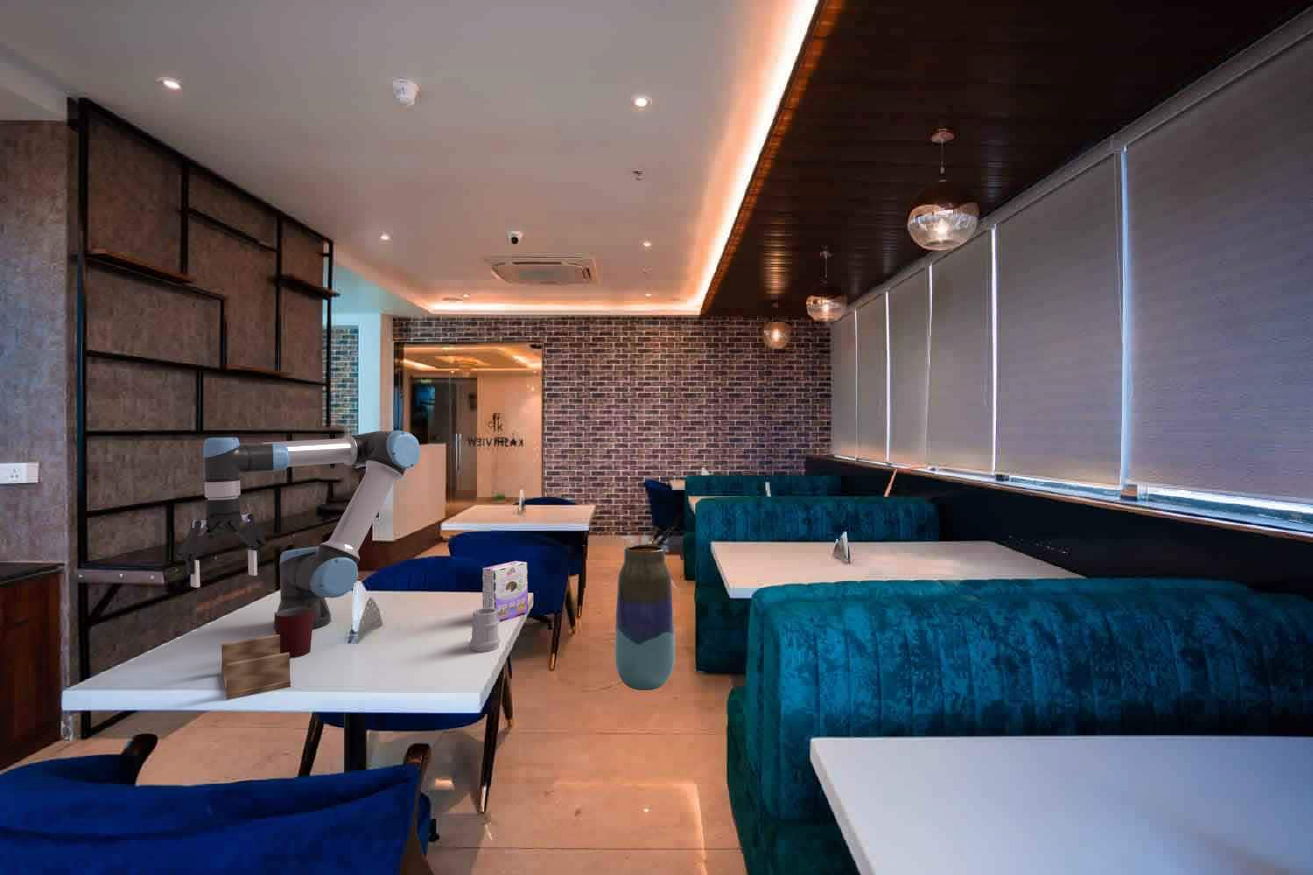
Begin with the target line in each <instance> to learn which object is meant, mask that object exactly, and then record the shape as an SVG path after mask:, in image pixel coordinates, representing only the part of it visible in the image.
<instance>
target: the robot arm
mask: <svg viewBox="0 0 1313 875" xmlns="http://www.w3.org/2000/svg"><path fill="white" fill-rule="evenodd" d="M421 453H422V452H421V446H420V443H419V441H418V439H417V437H416V436H414V435H413V434H412V433H410V432H408V431H402V430H394V431H393V430H392V431H391V430H389V431H388V430H387V431H385V430H384V431H383V430H377V431H369V432H365V433H359V434H349V435H348V434H347V435H344V436H343V437H342V438H333V439H332V438H330V439H329V438H328V439H311V440H309V439H308V440H305V439H304V440H286V441H270V442H268V441H267V442H249V443H248V442H247V443H246V442H245V443H244V442H243V443H240V441H239V438H238V437H233V436H232V437H208V438H206V439H205V440H204V442H203V454H202V458H203V472H204V497H205V498H207V499H205V501H204V512H205V518H204V519H203V520H199V519H192V520H191V522H190V528H189V531H188V533H187V534H186V537H185V539H184V541H183V543H182V545H181V547H180V549H179V551H178V552H177V553H178V554H176V555H177V556H176V559H177V560H181V561H185V564H186V566H185V567H186V569H185V570H186V574H187V575H190V587H191V588H201V580H200V578H201V576H200V573H201V572H200V571H201V570H200V560H198V559H197V558H198V557H199V556H200V555H201V553H202V552H203V551H204V549H205V548H206V547H207V546H208V545H209V543H210V542H211V540H212V539H214V538H215V537H216V536H222V535H223V536H224V535H226V534H227V535H231V534H233V533H234V534H235V535H236V536H237V537H238V538H239V539H240V540H241V541H243V542H244V543H245V544H246V545H247V546H248V547H249V548H250V549H248V550H247V566H248V569H247V570H248V571H247V572H248V575H250V576H258V563H259V562H260V559H261V557H260V556H261V555H260V554H261V553H260V552H261V550H262V549H263V548H264V547H267V545H268V542H267V540H266V538H265V537H264V535H263V533H262V532H261V530H260V528H259V527H258V525H257V523H256V521H255V516H254V514H253V513H244V514H241V509H242V508H241V507H242V506H241V505H242V504H241V502H242V501H241V498H240V497H239V496H241V474H248V473H249V474H250V473H265V472H267V473H268V472H272V473H274V472H278V471H285V470H286V469H287V468H288V467H290V468H291V467H303V466H315V465H327V464H340V463H344V464H345V465H347V466H355V465H356V466H357V465H359V466H366V469H367V470H366V472H365V474H364V475H363V478H362V479H361V481H360V483H359V485H358V487H357V489H355V490H356V491H355V492H354V494H353V496H352V498H351V500H350V501H349V503H348V505H347V507H346V509H345V510H344V512H343V514H342V516H341V518H340V520H338V521H339V522H337V525H336V526H335V529H334V530H333V532H332V534H331V536H330V537H329V539H328V540H326V541H325V542H322V543H320V545H319V546H312V547H311V546H310V547H304V548H295V549H291V550H290V549H289V550H285V551H282V553H281V554H280V558H279V582H280V584H279V585H280V586H279V588H280V590H279V591H280V593H279V594H280V598H279V599H280V601H279V604H278V607H277V611H280V610H283V609H288V608H295V607H310V608H313V626H312V630H314V629H318V628H320V627H321V628H322V627H324V626H327V625H329V624H330V623H331V622H332V614H331V611H330V608H329V605H328V603H327V600H326V599H327V598H329V599H336V598H340V597H342V596H345V595H347V593H349V592H350V591H352V589H353V588H354V587H355V585H354V583H356V584H357V582H358V579H359V570H358V569H359V568H358V563H359V561H360V559H361V558H360V556H359V550H360V547H361V546H362V544H363V542H364V540H365V539H366V536H367V534H369V533H368V532H369V530H370V528H371V527H372V525H373V523H374V521H375V519H376V517H377V515H378V514H379V512H380V509H381V507H382V506H383V504H384V502H385V500H386V498H387V496H388V494H389V493H390V490H391V488H392V486H393V485H394V483H395V481H399V480H401V479H403V476H404V474H405V472H406V470H407V469H411V468H412V467H414V466H415V465H416V464H417V463H418V462H419V461H420V458H421ZM242 522H243V523H245V526H246V528H248V530H249V532H250V534H251V536H250V534H248V533H247V532H246V531H245V530H244V528H243V527H242V526H240V524H241V523H242ZM204 526H205V527H206V529H205V530H204V532H203V534H202V535H201V537H200V538H199V540H198V541H197V539H198V536H199V535H200V533H201V530H202V529H203V528H204ZM196 541H197V542H196ZM277 611H276V612H277ZM273 629H274V630H275V618H274V619H273Z"/></svg>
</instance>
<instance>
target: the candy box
mask: <svg viewBox="0 0 1313 875" xmlns="http://www.w3.org/2000/svg"><path fill="white" fill-rule="evenodd" d="M528 584H529V583H528V562H526V561H518V560H514V561H509V562H505V563H501V564H497V565H492V566H488V567H482V608H483V609H484V608H489V602H490V597H494V605H495V609H496V610H497V618H498V620H499V623H500V622H503V621H506V620H511V619H512V618H513V619H514V618H516V617H519V616H521V615H525V614H528V613H529V600H528V599H529V596H528V595H529V594H528V593H529V589H528Z"/></svg>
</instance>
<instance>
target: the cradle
mask: <svg viewBox="0 0 1313 875" xmlns="http://www.w3.org/2000/svg"><path fill="white" fill-rule="evenodd" d="M221 676H222V677H221V678H222V681H223V685H224V689H225V695H226V700H227V701H230V700H233V699H238V698H243V697H248V696H253V695H257V694H262V693H267V692H271V691H276V690H281V689H287V688H290V687H291V682H292V681H291V658H290V653H289V652H287V653H281V654H280V635H279V634H278V635H276V634H273V635H268V636H267V635H266V636H260V637H254V638H250V639H244V640H243V639H242V640H238V641H231V642H225V643H221Z"/></svg>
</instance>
